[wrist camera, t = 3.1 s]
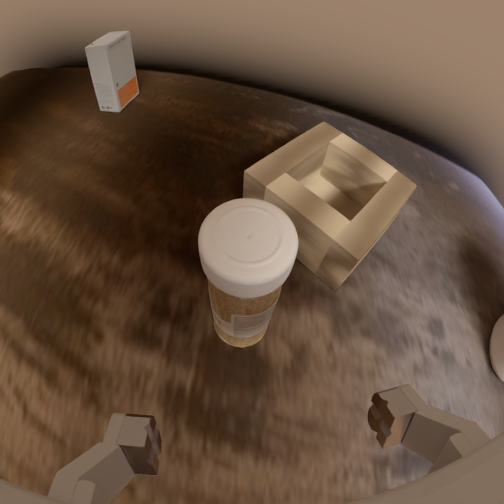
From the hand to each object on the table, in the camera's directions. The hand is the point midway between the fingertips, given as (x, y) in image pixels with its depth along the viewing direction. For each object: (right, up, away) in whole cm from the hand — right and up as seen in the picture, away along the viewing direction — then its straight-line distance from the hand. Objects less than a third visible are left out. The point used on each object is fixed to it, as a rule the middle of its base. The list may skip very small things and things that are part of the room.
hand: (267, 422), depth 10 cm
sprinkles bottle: (-2, 0, +16) cm, 16 cm away
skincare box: (-22, +30, +31) cm, 48 cm away
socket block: (+7, +10, +21) cm, 25 cm away
